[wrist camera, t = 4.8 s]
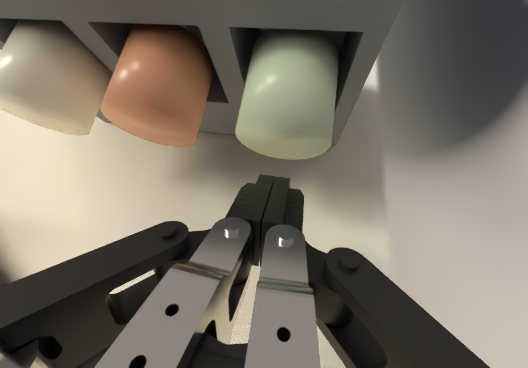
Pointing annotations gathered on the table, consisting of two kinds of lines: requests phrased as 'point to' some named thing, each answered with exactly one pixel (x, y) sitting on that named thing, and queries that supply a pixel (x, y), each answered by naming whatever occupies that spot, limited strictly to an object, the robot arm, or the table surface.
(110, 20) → the button panel
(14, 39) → the cream button
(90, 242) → the table surface
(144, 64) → the terracotta button
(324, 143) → the sage button
